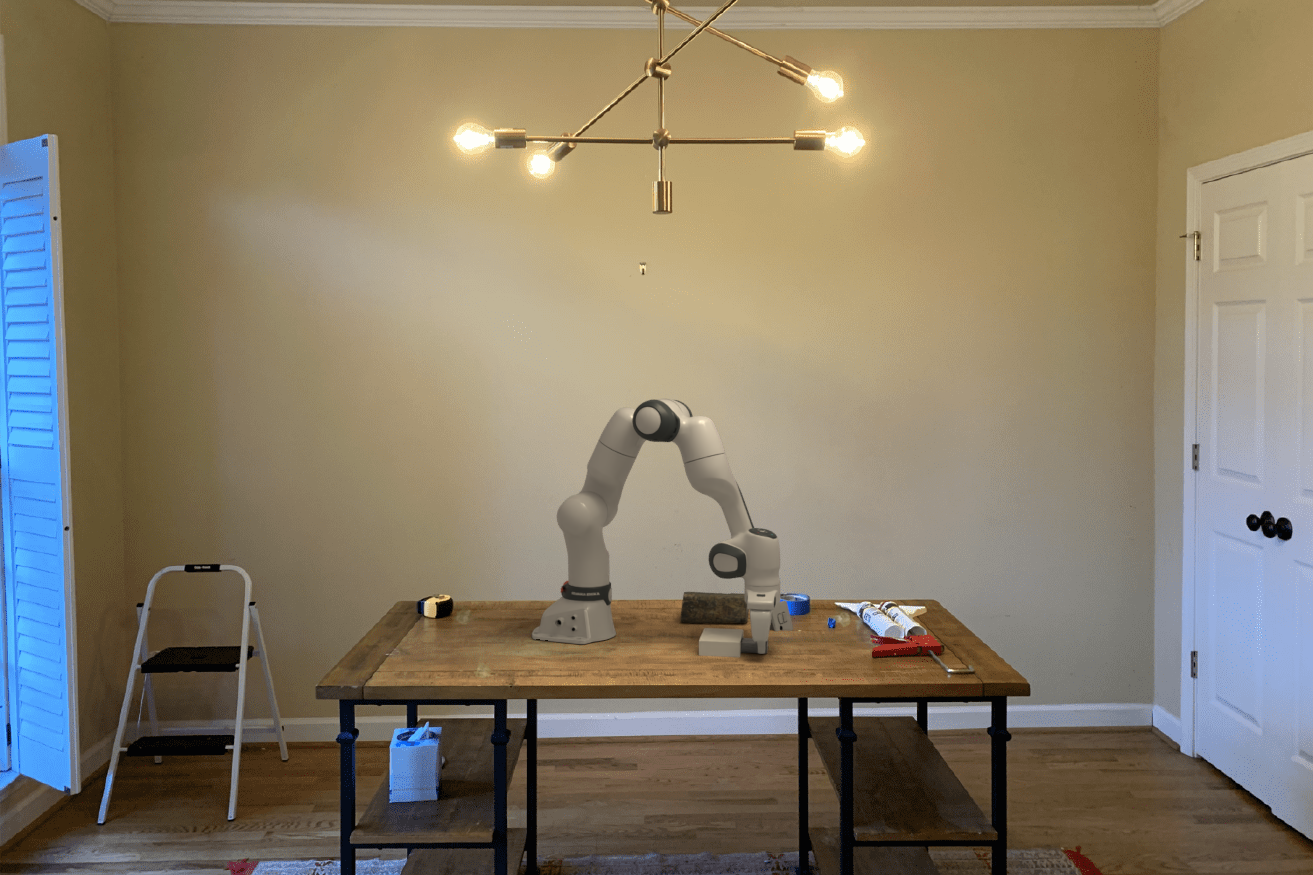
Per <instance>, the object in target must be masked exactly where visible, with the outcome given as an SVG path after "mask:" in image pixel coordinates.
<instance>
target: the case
mask: <svg viewBox="0 0 1313 875" xmlns="http://www.w3.org/2000/svg"><path fill="white" fill-rule="evenodd" d="M744 632H745V631H744V628H743V629H739V628H715V627H713V628H712V627H703V630H702V632H701V635H700V637H699V640H698V656H702V657H703V656H704V657H720V658H721V657H722V658H723V657H725V658H726V657H727V658H741V656H742V655H741V654H742V652H741V639H742V638H745V637H744Z"/></svg>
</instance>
